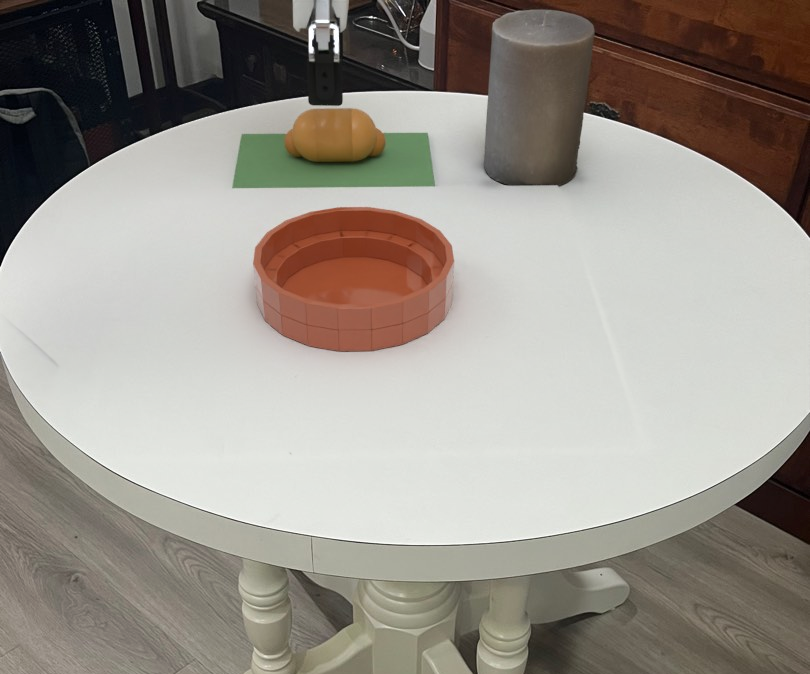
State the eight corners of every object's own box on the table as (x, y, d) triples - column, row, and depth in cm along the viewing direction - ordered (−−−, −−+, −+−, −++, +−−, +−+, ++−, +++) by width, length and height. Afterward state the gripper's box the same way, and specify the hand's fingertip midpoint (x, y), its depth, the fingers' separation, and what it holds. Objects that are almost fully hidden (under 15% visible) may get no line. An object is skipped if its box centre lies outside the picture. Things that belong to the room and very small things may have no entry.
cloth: (232, 193, 98) (231, 189, 97) (242, 137, 107) (241, 133, 107) (435, 191, 98) (435, 187, 98) (427, 136, 108) (427, 132, 107)
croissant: (283, 170, 100) (279, 121, 97) (285, 149, 104) (282, 100, 100) (386, 169, 101) (386, 120, 97) (385, 148, 104) (385, 100, 101)
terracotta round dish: (252, 359, 78) (246, 309, 75) (264, 254, 89) (260, 207, 86) (458, 356, 79) (461, 306, 75) (444, 252, 90) (446, 205, 87)
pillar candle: (596, 170, 102) (620, 12, 91) (531, 199, 97) (549, 37, 87) (526, 139, 107) (541, -14, 96) (462, 166, 102) (470, 8, 92)
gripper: (281, -145, 91) (291, 53, 103) (271, -99, 78) (283, 120, 90) (364, -143, 91) (364, 54, 103) (366, -97, 79) (366, 121, 91)
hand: (326, 84), depth 97 cm, fingers open, 9 cm apart
